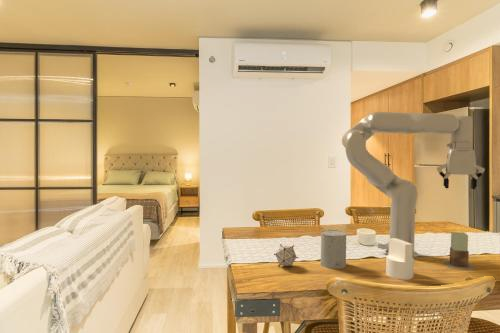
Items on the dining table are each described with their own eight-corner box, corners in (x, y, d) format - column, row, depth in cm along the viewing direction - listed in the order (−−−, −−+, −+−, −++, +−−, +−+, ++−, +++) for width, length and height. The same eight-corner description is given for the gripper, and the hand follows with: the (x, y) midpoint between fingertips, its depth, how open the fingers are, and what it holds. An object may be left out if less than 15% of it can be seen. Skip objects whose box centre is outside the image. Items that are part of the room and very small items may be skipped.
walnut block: (453, 266, 134) (453, 250, 134) (449, 262, 139) (450, 247, 139) (468, 267, 133) (468, 251, 132) (464, 263, 138) (464, 248, 137)
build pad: (448, 268, 133) (448, 267, 133) (442, 261, 141) (442, 260, 141) (476, 270, 130) (476, 269, 130) (468, 263, 139) (468, 262, 139)
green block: (454, 250, 134) (454, 234, 134) (450, 247, 138) (451, 231, 138) (467, 251, 133) (468, 235, 132) (463, 248, 137) (464, 232, 137)
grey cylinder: (318, 267, 134) (318, 234, 133) (322, 259, 143) (322, 229, 142) (344, 270, 130) (345, 236, 130) (347, 262, 139) (347, 231, 139)
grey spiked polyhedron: (289, 275, 136) (305, 253, 136) (285, 274, 128) (301, 251, 129) (271, 260, 140) (287, 239, 140) (266, 258, 132) (282, 236, 133)
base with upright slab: (419, 278, 123) (420, 243, 122) (397, 280, 120) (398, 245, 120) (401, 269, 131) (402, 237, 131) (380, 272, 129) (381, 239, 128)
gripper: (439, 146, 144) (438, 188, 145) (488, 146, 140) (487, 190, 140) (435, 146, 151) (434, 186, 152) (481, 146, 147) (480, 188, 148)
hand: (459, 188), depth 146 cm, fingers open, 9 cm apart
